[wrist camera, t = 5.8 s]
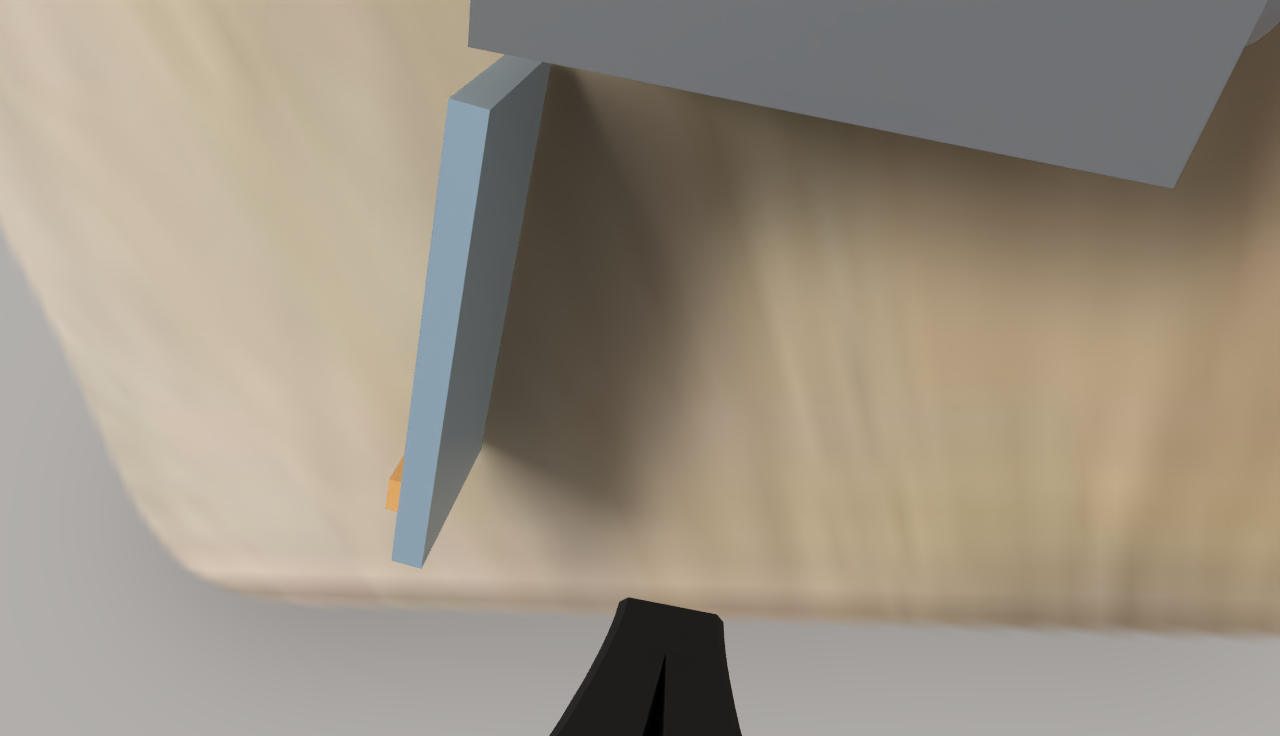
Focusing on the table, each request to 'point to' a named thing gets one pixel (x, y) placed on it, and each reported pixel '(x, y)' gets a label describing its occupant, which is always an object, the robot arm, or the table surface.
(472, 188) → the door
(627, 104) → the table surface
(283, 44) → the table surface
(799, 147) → the table surface
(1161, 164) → the camera body
